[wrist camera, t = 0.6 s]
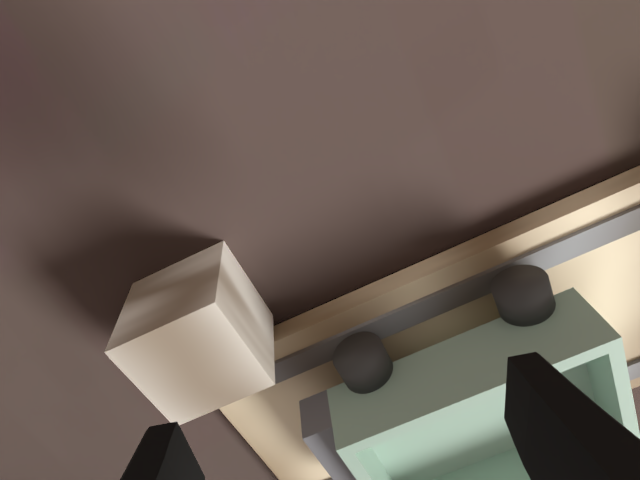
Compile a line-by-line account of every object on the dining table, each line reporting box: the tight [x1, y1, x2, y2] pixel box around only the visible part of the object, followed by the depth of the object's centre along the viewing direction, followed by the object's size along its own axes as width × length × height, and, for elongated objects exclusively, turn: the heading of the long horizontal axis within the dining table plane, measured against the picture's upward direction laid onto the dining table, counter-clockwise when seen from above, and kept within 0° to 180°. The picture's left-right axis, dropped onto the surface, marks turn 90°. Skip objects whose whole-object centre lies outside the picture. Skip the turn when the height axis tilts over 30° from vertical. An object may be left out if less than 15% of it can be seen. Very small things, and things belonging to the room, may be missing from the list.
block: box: [104, 241, 275, 425], centre depth 18 cm, size 4×4×4 cm
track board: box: [219, 165, 640, 480], centre depth 20 cm, size 24×11×4 cm, turn 115°
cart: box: [299, 265, 640, 480], centre depth 20 cm, size 11×9×4 cm
